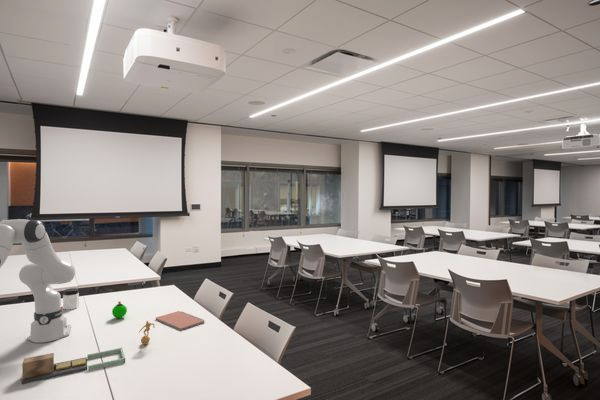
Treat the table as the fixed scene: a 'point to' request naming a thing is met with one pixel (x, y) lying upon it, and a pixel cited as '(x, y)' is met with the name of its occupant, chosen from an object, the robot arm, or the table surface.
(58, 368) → the brass chip
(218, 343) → the table surface
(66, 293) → the jar
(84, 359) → the brass chip
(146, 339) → the figurine
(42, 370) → the brown wooden block
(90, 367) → the tray
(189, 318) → the notebook
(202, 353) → the table surface
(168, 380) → the table surface
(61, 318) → the robot arm
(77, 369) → the slot bed
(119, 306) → the ornament
